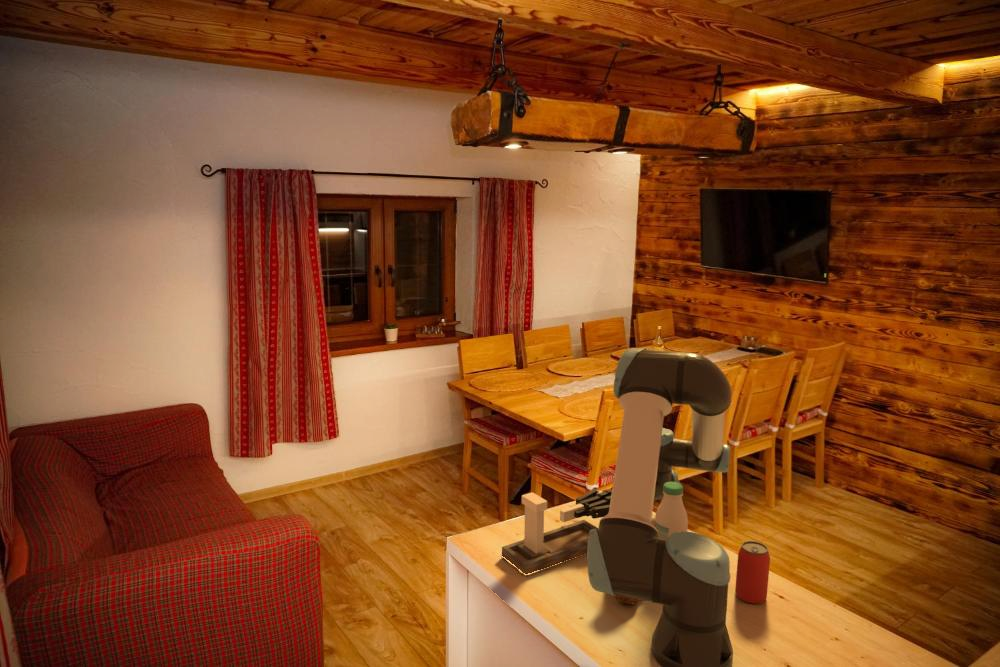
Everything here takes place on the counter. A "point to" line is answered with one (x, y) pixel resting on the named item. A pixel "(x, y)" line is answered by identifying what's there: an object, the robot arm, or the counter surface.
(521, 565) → the fader rail
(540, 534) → the fader knob
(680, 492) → the milk bottle
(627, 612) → the counter surface
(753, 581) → the beer can
